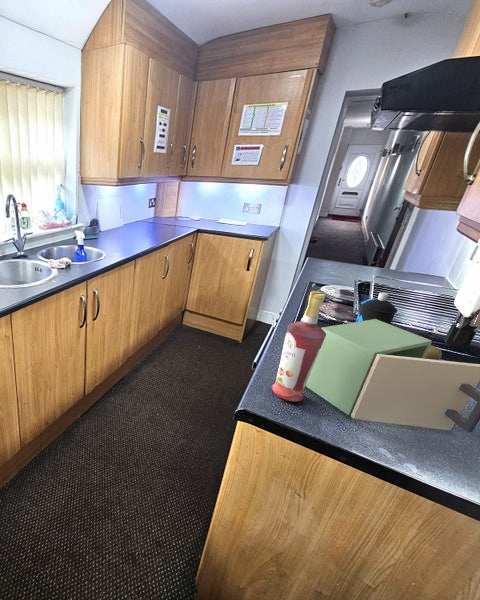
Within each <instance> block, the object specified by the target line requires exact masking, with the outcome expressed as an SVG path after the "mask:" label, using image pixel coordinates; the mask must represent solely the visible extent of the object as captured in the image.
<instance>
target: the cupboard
mask: <svg viewBox="0 0 480 600" xmlns="http://www.w3.org/2000/svg"><path fill="white" fill-rule="evenodd" d="M321 328H322V329H323V331H324V332H325V333H326V337H325V339H324V341H323V344H322V346H321V349H320V352H319V354H318V356H317V359H316V361H315V363H314V365H313V368H312V370H311V373H310V375H309V378H308V380H307V383H306V385H305V388H308V389H309V390H310V391H312V392H313V393H315V394H317V395H318V396H319V397H321V398H322V399H324V400H325V401H327V402H328V403H329V404H331V405H333V406H334V407H336V408H337V409H339V410H340V411H341V412H343V413H344V414H346V415H347V416H351V414H352V412H353V409H354V407H355V405H356V402H357V400H358V398H359V395H360V393H361V391H362V388H363V386H364V384H365V381H366V379H367V377H368V374H369V372H370V370H371V367H372V365H373V363H374V360H375V358H376V356H377V354H383V355H392V356H402V357H412V358H422V359H424V357H425V355H426V353H427V351H428V349H429V347H430V345H431V346H432V342H433V340H431V339H429V338H426V337H424V336H421V335H418V334H416V333H414V332H411V331H408V330H405V329H403V328H401V327H397V326H395V325H392V324H387V323H385V322H382V321H379V320H377V319H372V320H366V321H360V322H355V321H354V322H348V323H342V324H336V325H330V326H323V327H321Z"/></svg>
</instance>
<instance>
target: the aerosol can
mask: <svg viewBox="0 0 480 600" xmlns="http://www.w3.org/2000/svg"><path fill="white" fill-rule="evenodd" d="M388 297H389V293H387V292H383V291H382V292H379V293H378V296H377V298H369V299H366V300H364V301H361V302H360V305H361V306H360V308H359V311H358V313H357V316H356V319H355V321H354V322H360V321H366V320H372V319H377V320H379V321H382V322H385V323H387V324H390V325H392V322H393V320H394V317H395V315H396V313H398V309H397V308H396V307H395V305H394V304H393V303H391V302H390V301H388V300H387V299H388Z"/></svg>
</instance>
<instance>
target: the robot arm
mask: <svg viewBox="0 0 480 600" xmlns="http://www.w3.org/2000/svg"><path fill="white" fill-rule="evenodd" d="M467 262H468V264H470V265H472V266H471V268H470V269H469V272H468V274H467V275H466V276H465V278H464V279H463V282H462V284H461V286H460V288H459V290H458V291H457V293H456V296H455V298H454V301H453V302H454V306H455V308H456V309H457V310H458V311H457V313H456V315H455V317H454V320H453V321H452V324H451V325H450V327H449V329H448V331H447V333H446V335H445V337H444V338H443V339H444V340H443V341H444V343H445V344H446V345H449V346H453V347H458V348H462V349H468V348H469V346H470V345H471V343H472V341H473V339H474V338H475V336H476V334H477V332H479V330H480V239H478V241H477V244H476V245H475V247H474V249H473V251H472V253H471V255H470V258H469V259H468V261H467Z"/></svg>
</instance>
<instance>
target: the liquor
mask: <svg viewBox="0 0 480 600" xmlns="http://www.w3.org/2000/svg"><path fill="white" fill-rule="evenodd" d="M325 297H326V293H325V292H323V291H320V290H311V291H310V293H309V296H308V304H307V307H306V309H305V311H304V314H303V316H302V318H301V321H293V322H291V323H289V324H288V325H287V328H286V334H285V337H284V342H283V347H282V351H281V357H280V361H279V362H280V363H279V364H278V365H279V366H278V371H277V374H276V379H275V381H274V384H272V385H271V390H272V391H273V393H274V394H275V395H276V397H278V398H279V399H281V400H282V401H284V402H287V403H288V402H290V403H293V402H300V401H302V400H304V398H305V395H304V391H305V388H306V386H305V385H306V383H307V380H308V378H309V375H310V373H311V370H312V368H313V365H314V363H315V361H316V359H317V356H318V354H319V352H320V349H321V346H322V344H323V341H324V339H325V337H326V333H325V332H324V331H323V329H322V328H323V327H320V326H319V325H318V320H319V315H320V310H321V306H322V305H323V303H324V300H325Z"/></svg>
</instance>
